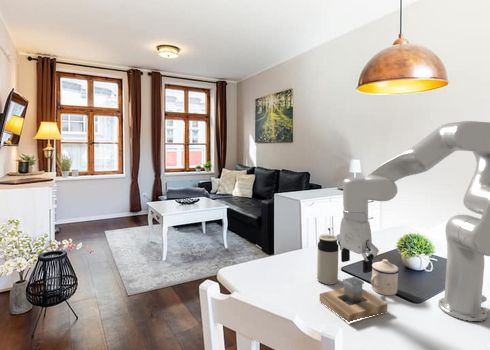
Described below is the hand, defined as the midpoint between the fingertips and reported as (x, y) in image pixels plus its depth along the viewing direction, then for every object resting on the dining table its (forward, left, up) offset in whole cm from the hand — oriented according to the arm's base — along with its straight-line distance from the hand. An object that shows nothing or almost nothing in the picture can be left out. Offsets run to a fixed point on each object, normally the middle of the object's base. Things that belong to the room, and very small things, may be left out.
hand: (356, 266), depth 95 cm
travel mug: (-4, -19, -14) cm, 24 cm away
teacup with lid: (-17, -4, -14) cm, 23 cm away
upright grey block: (+1, 0, -14) cm, 14 cm away
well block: (+1, 0, -14) cm, 14 cm away
